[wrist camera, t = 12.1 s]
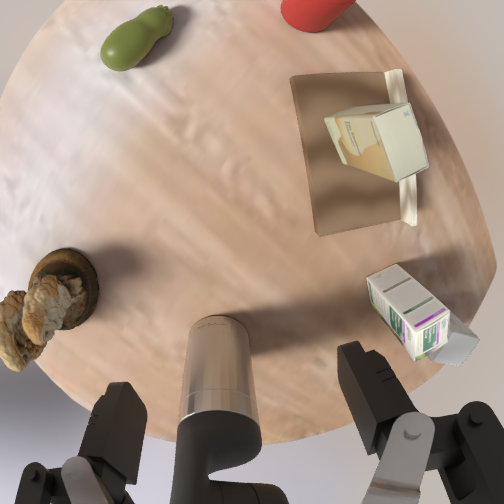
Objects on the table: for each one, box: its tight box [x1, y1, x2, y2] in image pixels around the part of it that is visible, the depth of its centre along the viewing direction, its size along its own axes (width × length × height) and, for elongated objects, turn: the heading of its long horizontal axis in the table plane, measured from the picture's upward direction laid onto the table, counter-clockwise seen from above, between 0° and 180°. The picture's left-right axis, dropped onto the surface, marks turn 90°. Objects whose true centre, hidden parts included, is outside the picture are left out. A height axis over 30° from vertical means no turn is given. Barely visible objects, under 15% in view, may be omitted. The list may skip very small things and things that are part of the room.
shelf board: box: [290, 69, 417, 237], centre depth 32 cm, size 20×13×5 cm, turn 11°
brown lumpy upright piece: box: [0, 249, 99, 372], centre depth 31 cm, size 18×12×17 cm, turn 133°
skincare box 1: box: [324, 103, 429, 182], centre depth 26 cm, size 6×4×12 cm
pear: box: [101, 5, 174, 71], centre depth 25 cm, size 6×5×10 cm
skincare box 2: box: [427, 311, 480, 366], centre depth 42 cm, size 10×6×10 cm, turn 68°
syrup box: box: [366, 264, 450, 361], centre depth 36 cm, size 6×6×14 cm
